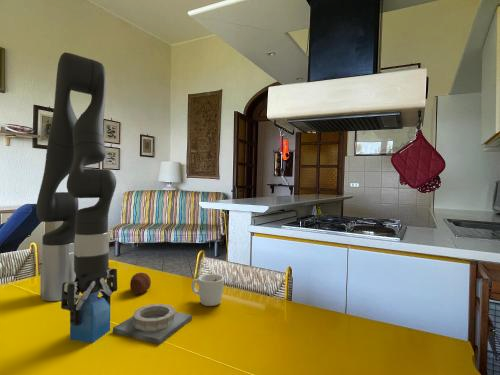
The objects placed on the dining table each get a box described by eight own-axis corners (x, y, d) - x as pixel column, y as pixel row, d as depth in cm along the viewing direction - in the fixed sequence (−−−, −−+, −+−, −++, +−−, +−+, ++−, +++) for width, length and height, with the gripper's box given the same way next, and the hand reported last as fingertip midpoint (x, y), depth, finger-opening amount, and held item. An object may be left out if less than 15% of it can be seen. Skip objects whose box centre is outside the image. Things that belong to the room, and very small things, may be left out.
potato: (123, 295, 101) (123, 276, 101) (136, 286, 110) (137, 268, 110) (143, 297, 100) (144, 277, 100) (155, 287, 109) (155, 269, 109)
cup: (184, 304, 95) (185, 278, 95) (198, 295, 103) (199, 271, 102) (215, 310, 91) (216, 283, 91) (227, 300, 99) (228, 275, 98)
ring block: (112, 332, 77) (113, 318, 77) (150, 310, 90) (150, 298, 90) (159, 344, 72) (159, 329, 72) (191, 319, 85) (192, 306, 85)
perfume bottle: (93, 343, 72) (93, 292, 72) (70, 339, 73) (70, 289, 73) (110, 330, 78) (110, 283, 78) (88, 327, 79) (89, 281, 79)
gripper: (103, 244, 83) (102, 304, 83) (52, 256, 70) (52, 327, 70) (125, 246, 80) (125, 308, 81) (77, 259, 67) (76, 334, 67)
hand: (91, 317), depth 75 cm, fingers open, 8 cm apart
